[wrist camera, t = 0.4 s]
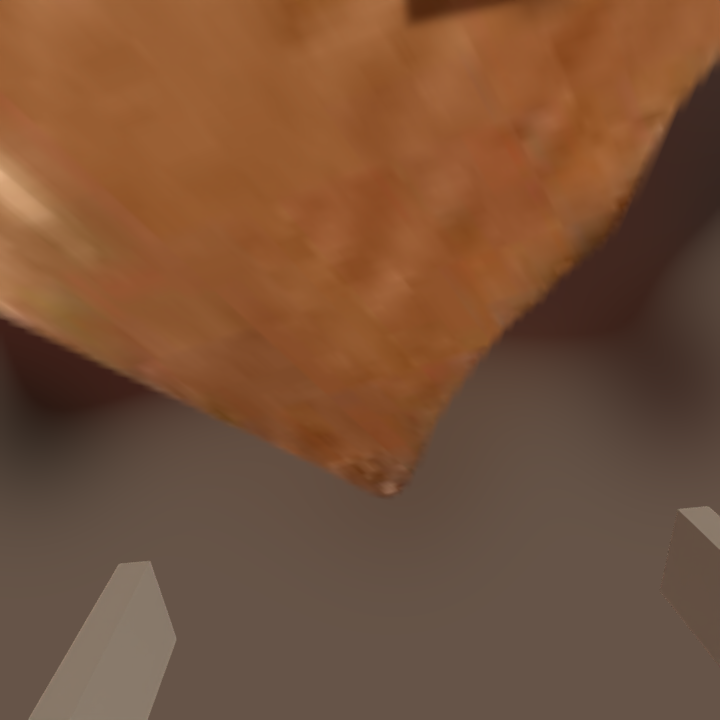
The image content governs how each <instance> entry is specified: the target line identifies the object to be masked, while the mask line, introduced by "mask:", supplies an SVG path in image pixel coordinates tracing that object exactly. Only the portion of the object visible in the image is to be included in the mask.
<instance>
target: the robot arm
mask: <svg viewBox="0 0 720 720" xmlns="http://www.w3.org/2000/svg"><path fill="white" fill-rule="evenodd" d="M660 592H661V593H662V594H663V596H664V597H665V598H666V599H667V601H668V602H669V603H670V604H671V606H672V607H673V608H674V609H675V611H676V612H677V613H678V615H679V616H680V617H681V619H682V620H683V621H684V622H685V623H686V625H687V626H688V627H689V629H690V630H691V631H692V633H693V634H694V635H695V636H696V637H697V639H698V640H699V641H700V643H701V644H702V645H703V647H704V648H705V649H706V650H707V651H708V653H709V654H710V655H711V657H712V658H713V659H714V660H715V662H716V663H717V664H718V665H719V667H720V516H719V515H718V514H716V513H715V512H714V511H713V510H712V509H711V508H710V507H708V506H707V507H696V508H686V509H678V510H677V515H676V519H675V524H674V528H673V533H672V538H671V542H670V547H669V551H668V556H667V561H666V565H665V569H664V574H663V579H662V583H661V588H660ZM175 642H176V636H175V633H174V630H173V627H172V624H171V621H170V618H169V615H168V612H167V609H166V606H165V603H164V600H163V598H162V594H161V592H160V589H159V586H158V583H157V580H156V577H155V574H154V571H153V568H152V565H151V562H150V561H144V562H134V563H123V564H119V565H118V567H117V568H116V570H115V572H114V573H113V575H112V577H111V579H110V580H109V582H108V584H107V585H106V587H105V589H104V591H103V592H102V594H101V596H100V597H99V599H98V601H97V603H96V604H95V606H94V608H93V610H92V611H91V613H90V615H89V616H88V618H87V620H86V622H85V623H84V625H83V627H82V628H81V630H80V632H79V633H78V635H77V637H76V639H75V640H74V642H73V644H72V645H71V647H70V649H69V651H68V652H67V654H66V656H65V657H64V659H63V661H62V663H61V664H60V666H59V668H58V669H57V671H56V673H55V675H54V676H53V678H52V680H51V682H50V683H49V685H48V687H47V689H46V690H45V692H44V694H43V695H42V697H41V699H40V700H39V702H38V704H37V706H36V707H35V709H34V711H33V712H32V714H31V716H30V717H29V719H28V720H147V719H148V717H149V714H150V711H151V708H152V706H153V703H154V700H155V697H156V694H157V691H158V689H159V686H160V683H161V680H162V678H163V675H164V672H165V669H166V667H167V663H168V661H169V658H170V656H171V653H172V650H173V647H174V644H175Z"/></svg>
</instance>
